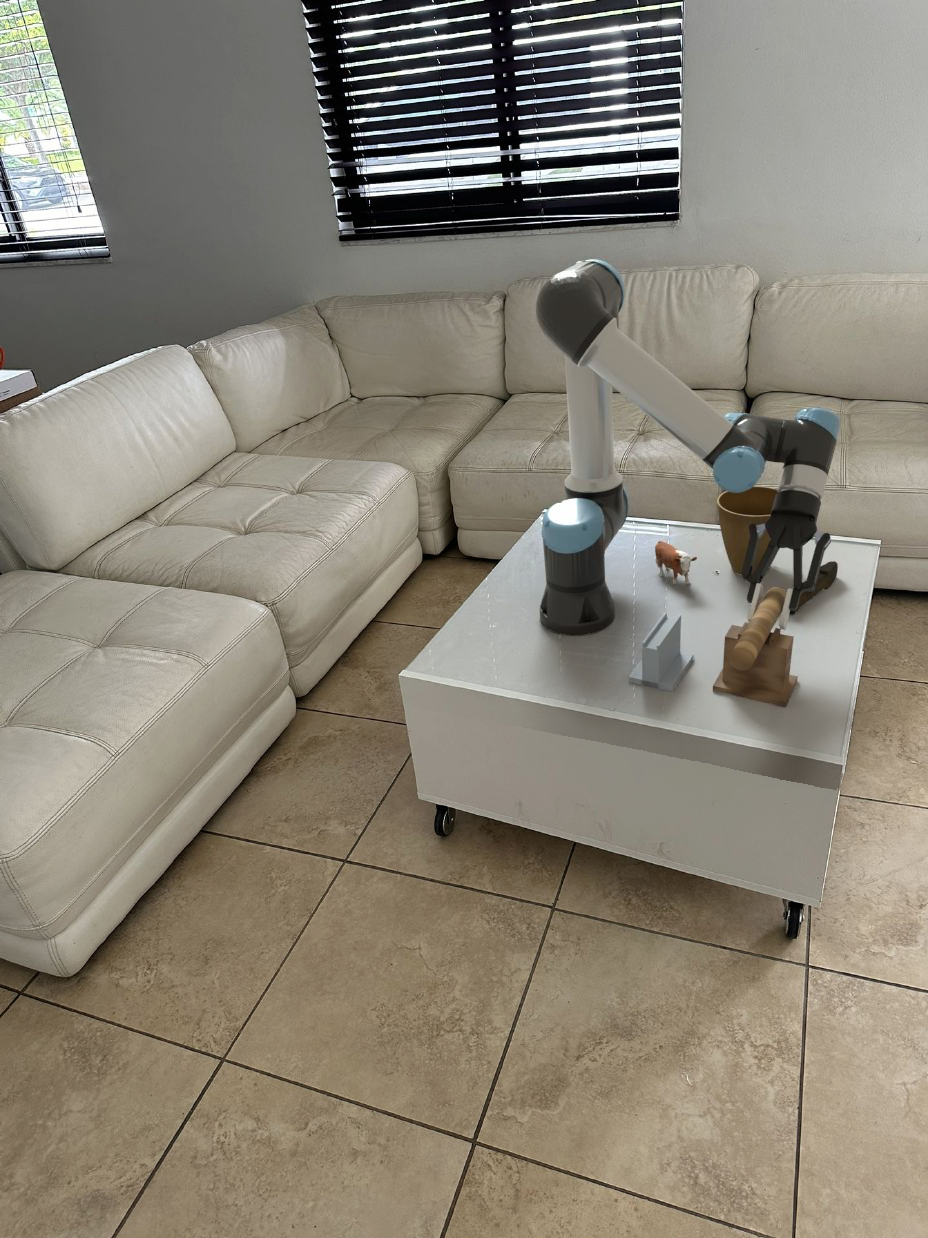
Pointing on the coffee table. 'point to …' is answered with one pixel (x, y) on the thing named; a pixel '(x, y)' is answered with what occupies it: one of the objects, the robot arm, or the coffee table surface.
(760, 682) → the wooden stand
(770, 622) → the rod
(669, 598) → the coffee table surface
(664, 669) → the cradle
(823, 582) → the hand tool
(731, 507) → the plant pot
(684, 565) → the bull figurine
